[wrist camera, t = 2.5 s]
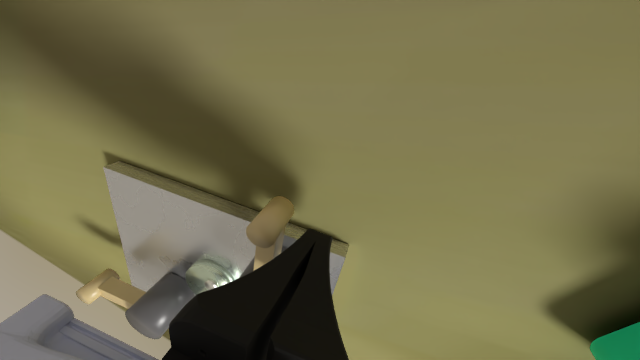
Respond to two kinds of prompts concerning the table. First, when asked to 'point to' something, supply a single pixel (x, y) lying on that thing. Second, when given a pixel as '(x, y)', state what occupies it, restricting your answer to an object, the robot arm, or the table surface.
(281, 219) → the knob
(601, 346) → the camera mount
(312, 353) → the robot arm
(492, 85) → the table surface
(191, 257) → the tribrach plate
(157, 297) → the knob
